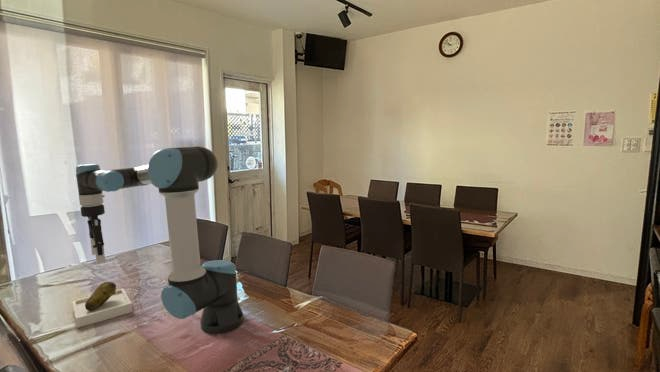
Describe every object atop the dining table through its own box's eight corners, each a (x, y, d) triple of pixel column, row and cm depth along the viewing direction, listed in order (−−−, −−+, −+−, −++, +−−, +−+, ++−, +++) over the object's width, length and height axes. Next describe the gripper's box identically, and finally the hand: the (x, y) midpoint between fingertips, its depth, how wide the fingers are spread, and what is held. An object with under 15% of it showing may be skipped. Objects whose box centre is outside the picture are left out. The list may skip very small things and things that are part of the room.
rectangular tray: (132, 312, 141) (131, 303, 141) (77, 327, 130) (75, 318, 130) (124, 296, 155) (123, 288, 155) (73, 309, 144) (72, 300, 144)
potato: (77, 309, 139) (75, 290, 138) (111, 296, 150) (109, 278, 149) (90, 314, 135) (87, 294, 134) (123, 300, 146) (121, 281, 145)
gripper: (108, 208, 129) (115, 264, 132) (99, 199, 149) (105, 248, 152) (83, 211, 125) (90, 269, 128) (77, 201, 144) (83, 252, 147)
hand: (98, 258), depth 140 cm, fingers open, 13 cm apart
